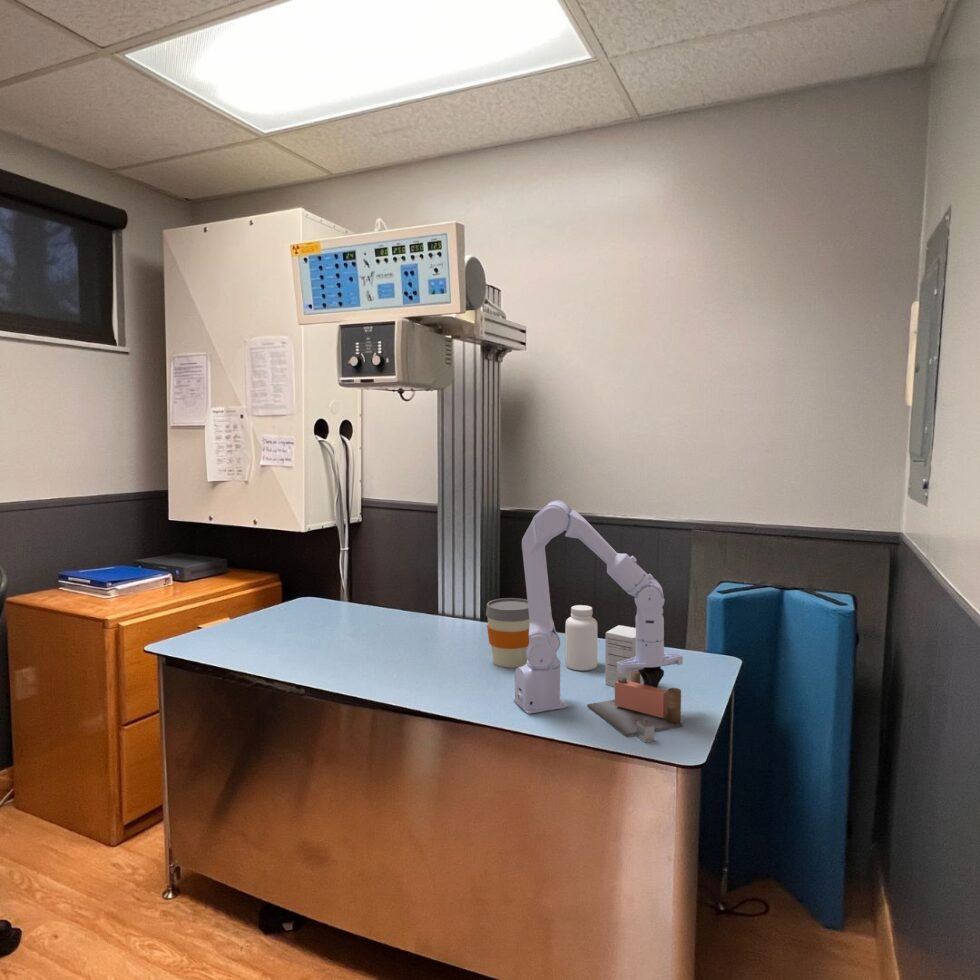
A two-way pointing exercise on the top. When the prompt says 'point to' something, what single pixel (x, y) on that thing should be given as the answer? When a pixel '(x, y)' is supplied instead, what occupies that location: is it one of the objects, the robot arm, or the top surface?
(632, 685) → the rail
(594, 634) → the pill bottle
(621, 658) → the supplement box
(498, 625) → the reusable coffee cup
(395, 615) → the top surface
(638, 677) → the peg mounting fixture
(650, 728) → the block
